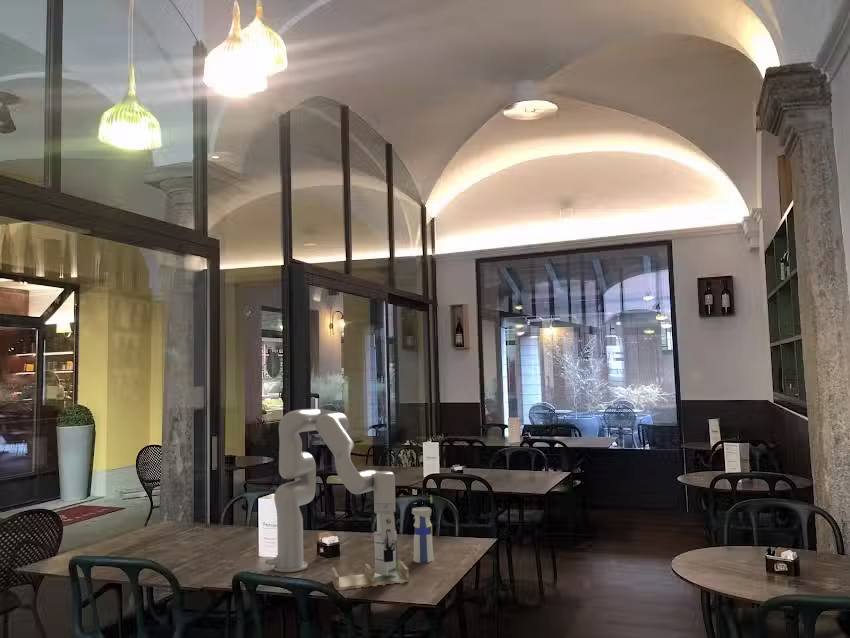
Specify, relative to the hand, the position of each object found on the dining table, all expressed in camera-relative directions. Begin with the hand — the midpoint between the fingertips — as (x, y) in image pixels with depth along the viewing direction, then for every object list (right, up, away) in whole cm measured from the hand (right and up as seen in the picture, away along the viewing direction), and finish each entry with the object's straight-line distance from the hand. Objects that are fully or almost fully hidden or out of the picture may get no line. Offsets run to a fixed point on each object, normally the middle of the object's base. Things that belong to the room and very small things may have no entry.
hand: (386, 558), depth 236 cm
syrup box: (0, -5, 0) cm, 5 cm away
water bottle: (+13, -9, +24) cm, 29 cm away
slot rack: (-5, -7, -2) cm, 9 cm away
